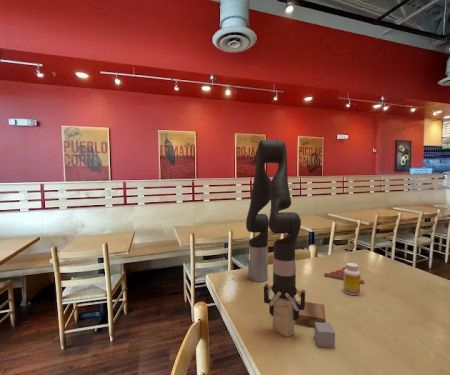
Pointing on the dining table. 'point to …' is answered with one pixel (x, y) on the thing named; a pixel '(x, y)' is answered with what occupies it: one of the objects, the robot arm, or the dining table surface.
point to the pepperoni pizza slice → (339, 275)
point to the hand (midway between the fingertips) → (284, 317)
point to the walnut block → (311, 314)
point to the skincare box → (283, 317)
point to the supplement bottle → (351, 279)
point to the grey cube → (324, 334)
